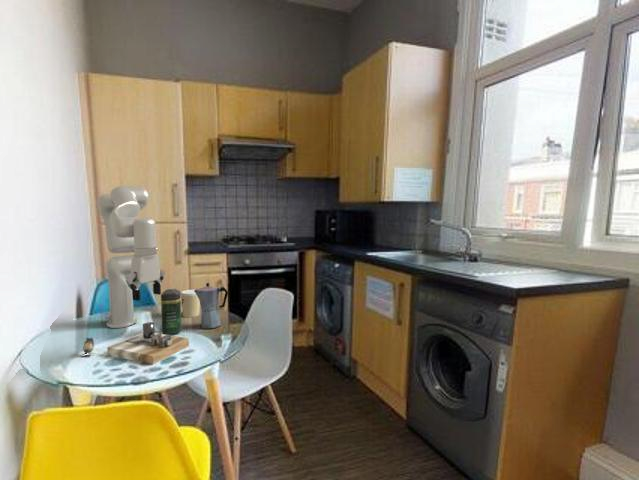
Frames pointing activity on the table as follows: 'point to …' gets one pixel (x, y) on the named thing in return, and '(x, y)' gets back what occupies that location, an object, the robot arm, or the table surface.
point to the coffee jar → (171, 312)
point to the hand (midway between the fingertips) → (147, 297)
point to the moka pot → (210, 305)
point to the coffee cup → (190, 303)
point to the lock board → (147, 348)
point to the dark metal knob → (151, 334)
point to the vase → (88, 346)
